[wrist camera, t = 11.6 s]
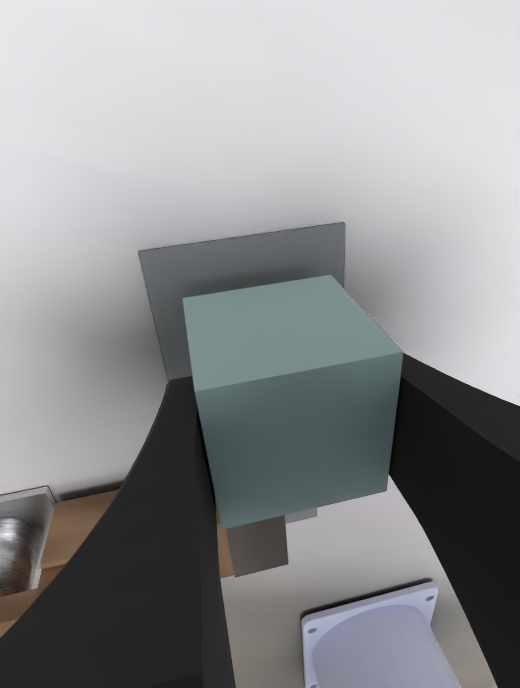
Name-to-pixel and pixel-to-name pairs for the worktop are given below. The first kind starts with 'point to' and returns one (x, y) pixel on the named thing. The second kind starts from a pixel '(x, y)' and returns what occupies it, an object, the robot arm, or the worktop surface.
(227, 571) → the leg
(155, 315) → the seat pad
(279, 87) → the worktop surface
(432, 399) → the robot arm
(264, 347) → the block
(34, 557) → the flanged metal stem
